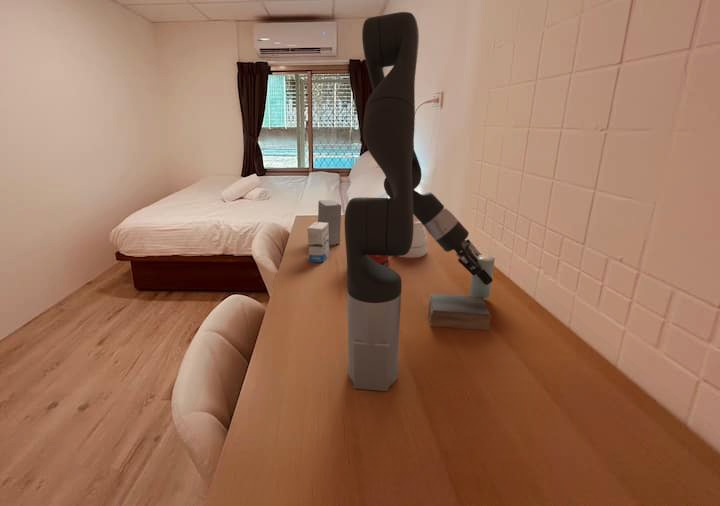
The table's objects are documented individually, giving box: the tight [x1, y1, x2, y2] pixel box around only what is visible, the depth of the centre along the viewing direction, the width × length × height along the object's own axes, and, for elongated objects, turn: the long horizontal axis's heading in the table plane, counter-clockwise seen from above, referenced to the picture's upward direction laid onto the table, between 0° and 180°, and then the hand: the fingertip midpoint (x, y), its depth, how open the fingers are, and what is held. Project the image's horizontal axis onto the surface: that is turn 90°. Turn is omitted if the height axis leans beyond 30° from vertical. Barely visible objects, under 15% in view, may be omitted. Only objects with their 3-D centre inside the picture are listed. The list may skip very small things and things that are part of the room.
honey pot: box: [399, 214, 428, 259], centre depth 130 cm, size 13×13×18 cm
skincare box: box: [317, 199, 342, 247], centre depth 139 cm, size 8×7×16 cm
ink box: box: [307, 221, 330, 264], centre depth 124 cm, size 9×5×12 cm, turn 168°
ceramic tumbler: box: [469, 254, 496, 299], centre depth 96 cm, size 5×5×10 cm
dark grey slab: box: [428, 293, 492, 331], centre depth 88 cm, size 9×13×4 cm
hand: (489, 278), depth 95 cm, fingers closed on ceramic tumbler, 5 cm apart
